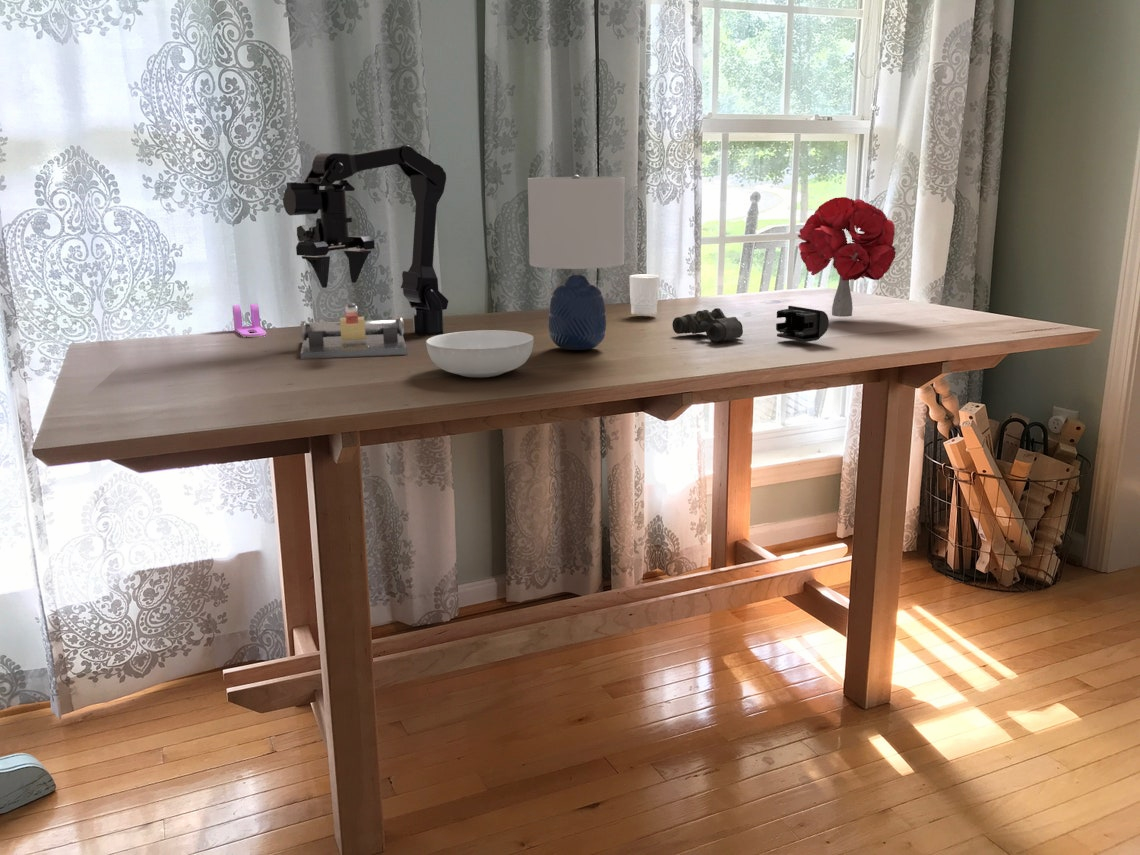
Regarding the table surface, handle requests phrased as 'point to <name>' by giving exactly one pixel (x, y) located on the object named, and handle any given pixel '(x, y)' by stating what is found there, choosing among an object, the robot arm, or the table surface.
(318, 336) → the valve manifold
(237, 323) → the bracket
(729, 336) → the binoculars
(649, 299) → the white cup
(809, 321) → the end cap
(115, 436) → the table surface
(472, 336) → the serving bowl
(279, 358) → the table surface
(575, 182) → the lamp
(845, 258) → the bouquet
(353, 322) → the lever
